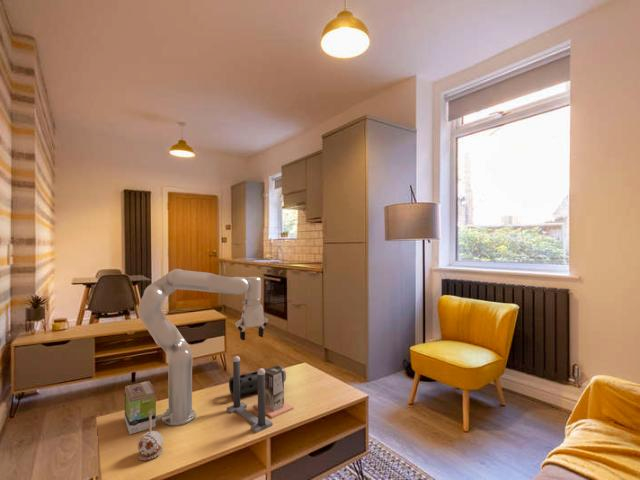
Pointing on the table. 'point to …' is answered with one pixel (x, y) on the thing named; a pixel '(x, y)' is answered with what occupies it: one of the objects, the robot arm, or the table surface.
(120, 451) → the table surface
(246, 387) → the muzzle brake
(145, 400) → the tea box
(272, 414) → the terracotta tile
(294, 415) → the table surface
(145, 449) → the decorative ornament
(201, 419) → the table surface
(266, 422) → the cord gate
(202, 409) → the table surface
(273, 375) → the coffee box
